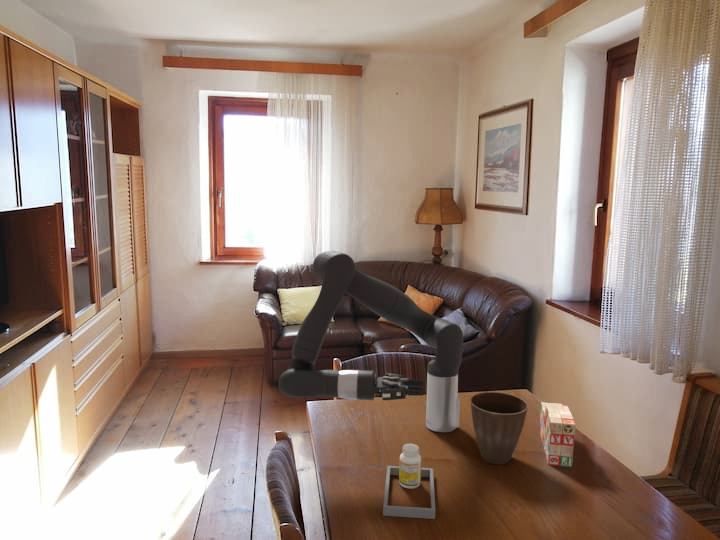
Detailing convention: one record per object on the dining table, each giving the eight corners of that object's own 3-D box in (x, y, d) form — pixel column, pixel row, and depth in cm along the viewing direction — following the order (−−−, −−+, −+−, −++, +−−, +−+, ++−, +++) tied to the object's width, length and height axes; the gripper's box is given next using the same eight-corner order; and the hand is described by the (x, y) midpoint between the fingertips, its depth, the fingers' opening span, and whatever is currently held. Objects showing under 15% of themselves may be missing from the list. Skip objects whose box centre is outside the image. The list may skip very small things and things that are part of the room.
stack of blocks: (538, 430, 168) (541, 392, 166) (560, 432, 167) (563, 393, 165) (547, 465, 148) (550, 421, 146) (572, 467, 146) (575, 423, 145)
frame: (387, 473, 143) (387, 465, 142) (432, 475, 142) (432, 468, 141) (383, 515, 124) (383, 507, 124) (435, 519, 123) (435, 510, 123)
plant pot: (534, 457, 151) (537, 402, 149) (507, 478, 141) (510, 418, 138) (486, 440, 161) (488, 387, 159) (457, 458, 151) (459, 402, 148)
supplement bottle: (412, 491, 134) (413, 454, 133) (394, 484, 138) (395, 447, 136) (424, 482, 138) (425, 446, 137) (407, 475, 142) (408, 440, 140)
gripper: (353, 380, 136) (424, 383, 134) (359, 362, 150) (423, 364, 148) (353, 409, 137) (423, 412, 136) (359, 388, 151) (422, 391, 150)
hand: (423, 387), depth 142 cm, fingers open, 4 cm apart
